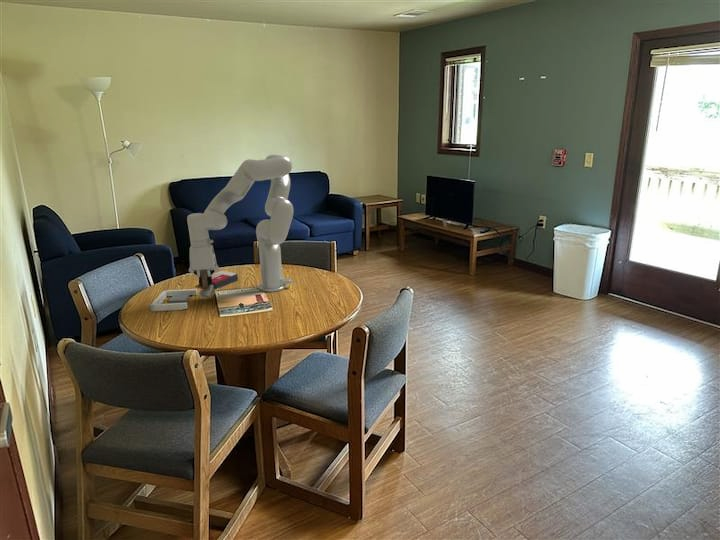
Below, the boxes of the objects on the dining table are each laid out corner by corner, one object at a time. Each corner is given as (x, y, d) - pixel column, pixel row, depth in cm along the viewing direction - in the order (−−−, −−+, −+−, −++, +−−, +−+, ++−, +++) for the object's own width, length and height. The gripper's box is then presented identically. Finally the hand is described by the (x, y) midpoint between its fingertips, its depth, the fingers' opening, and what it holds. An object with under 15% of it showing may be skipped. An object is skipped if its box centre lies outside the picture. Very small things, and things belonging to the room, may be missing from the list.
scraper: (214, 291, 217) (210, 264, 213) (210, 297, 210) (206, 269, 206) (204, 291, 217) (200, 264, 213) (200, 298, 209) (196, 270, 205)
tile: (190, 299, 217) (189, 294, 216) (185, 305, 210) (185, 300, 209) (173, 300, 216) (172, 295, 215) (169, 306, 210) (168, 300, 209)
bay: (197, 294, 222) (196, 288, 222) (186, 309, 204) (186, 303, 203) (164, 295, 221) (163, 290, 221) (150, 311, 203) (149, 305, 202)
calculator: (197, 279, 233) (221, 269, 245) (199, 287, 234) (222, 277, 246) (214, 282, 227) (237, 272, 240) (215, 291, 229) (238, 280, 241)
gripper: (221, 239, 210) (226, 280, 216) (182, 242, 209) (189, 283, 215) (218, 244, 203) (223, 286, 209) (178, 246, 202) (184, 289, 208)
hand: (206, 284), depth 212 cm, fingers closed on scraper, 2 cm apart
